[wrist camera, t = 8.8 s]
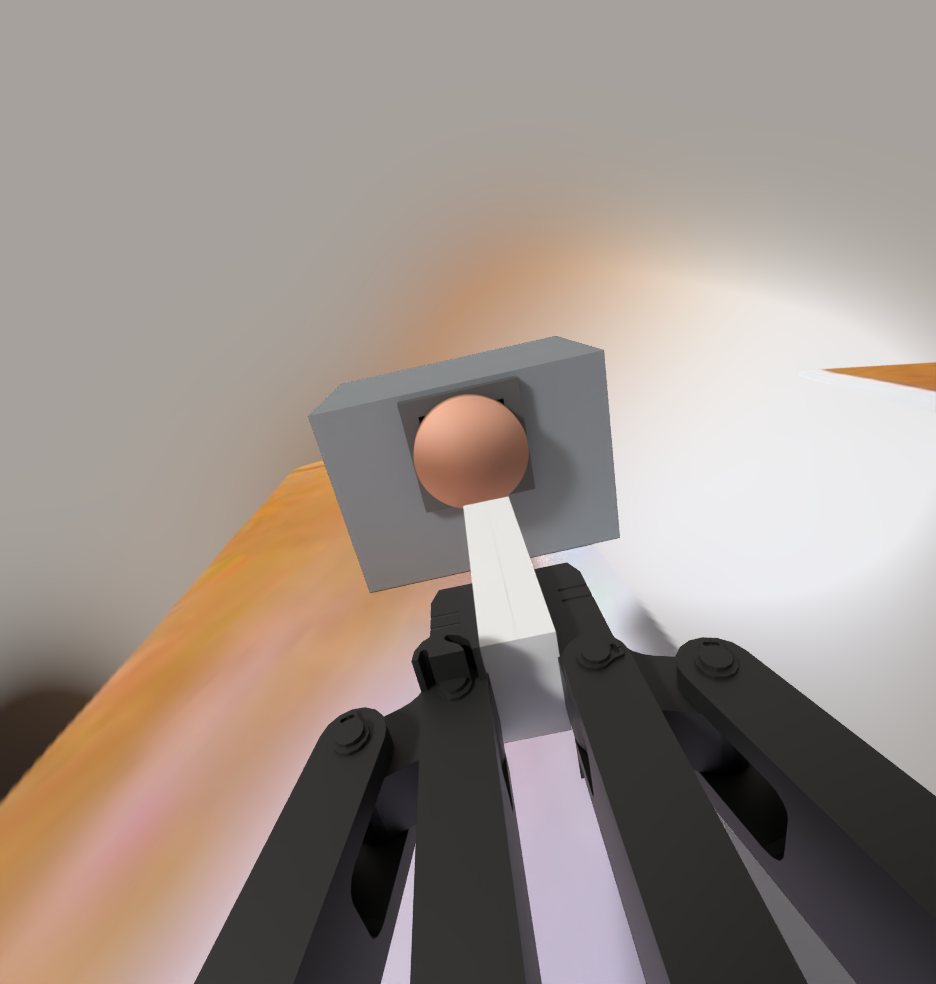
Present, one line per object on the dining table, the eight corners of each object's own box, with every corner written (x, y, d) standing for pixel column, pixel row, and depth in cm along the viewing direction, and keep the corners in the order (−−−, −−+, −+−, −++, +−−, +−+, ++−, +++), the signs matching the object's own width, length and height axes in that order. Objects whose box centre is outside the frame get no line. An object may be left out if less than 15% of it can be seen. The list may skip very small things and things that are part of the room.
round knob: (429, 447, 37) (410, 373, 35) (501, 431, 37) (487, 356, 35) (428, 519, 25) (400, 413, 23) (536, 495, 25) (518, 386, 23)
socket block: (384, 521, 38) (341, 384, 34) (573, 479, 38) (555, 335, 33) (368, 598, 28) (304, 418, 24) (623, 542, 28) (607, 351, 24)
